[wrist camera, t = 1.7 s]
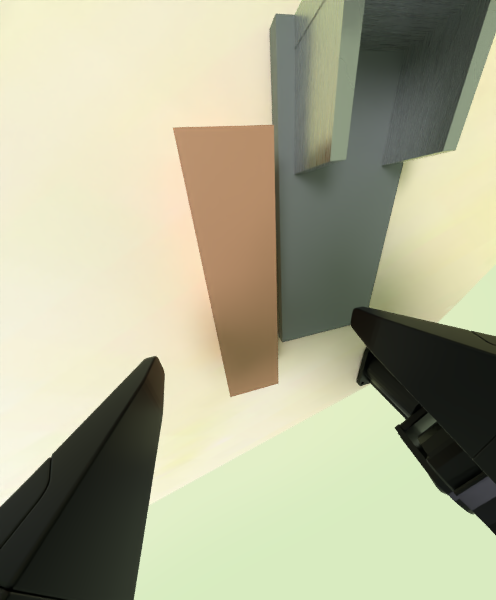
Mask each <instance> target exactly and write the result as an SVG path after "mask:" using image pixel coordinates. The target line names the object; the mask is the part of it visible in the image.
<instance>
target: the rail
mask: <svg viewBox="0 0 496 600" xmlns="http://www.w3.org/2000/svg"><path fill="white" fill-rule="evenodd" d="M173 130H174V135H175V139H176V144H177V149H178V153H179V158H180V163H181V167H182V172H183V177H184V181H185V186H186V191H187V195H188V200H189V205H190V209H191V214H192V219H193V224H194V228H195V233H196V238H197V242H198V247H199V252H200V256H201V261H202V266H203V270H204V275H205V280H206V284H207V289H208V294H209V298H210V303H211V308H212V313H213V317H214V322H215V327H216V331H217V336H218V341H219V345H220V350H221V355H222V359H223V364H224V369H225V373H226V378H227V383H228V387H229V392H230V397H232V396H236V395H239V394H243V393H246V392H250V391H253V390H257V389H260V388H264V387H267V386H271V385H274V384H278V337H277V278H276V220H275V162H274V125H255V126H217V127H179V128H173Z"/></svg>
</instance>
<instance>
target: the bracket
mask: <svg viewBox="0 0 496 600" xmlns="http://www.w3.org/2000/svg"><path fill="white" fill-rule="evenodd" d="M495 33H496V0H302V1H301V3H300V5H299V7H298V9H297V11H296V13H295V17H294V49H295V107H294V174H301V173H307V172H310V171H313V170H316V169H320V168H323V167H326V166H329V165H332V164H335V163H338V162H341V161H344V160H346V156H347V147H348V139H349V131H350V122H351V114H352V106H353V97H354V89H355V81H356V72H357V64H358V56H359V50H364V51H402V52H404V53H403V58H402V63H401V68H400V73H399V78H398V83H397V88H396V93H395V98H394V104H393V109H392V114H391V119H390V124H389V129H388V134H387V139H386V144H385V149H384V155H383V160H382V165H381V166H384V165H393V164H397V163H402V162H406V161H410V160H415V159H419V158H424V157H428V156H432V155H437V154H441V153H446V152H450V151H454V150H456V147H457V144H458V141H459V138H460V135H461V132H462V130H463V127H464V124H465V121H466V118H467V115H468V112H469V109H470V106H471V103H472V100H473V97H474V94H475V91H476V89H477V86H478V83H479V80H480V77H481V74H482V71H483V68H484V65H485V62H486V59H487V56H488V53H489V50H490V47H491V45H492V42H493V39H494V36H495Z"/></svg>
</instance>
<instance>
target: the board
mask: <svg viewBox="0 0 496 600" xmlns="http://www.w3.org/2000/svg"><path fill="white" fill-rule="evenodd" d="M294 17H295V15H288V14H276V15H275V17H274V20H273V22H272V25H271V27H270V57H271V90H272V122H273V125H274V162H275V220H276V252H277V285H278V317H279V338H280V339H281V341H282V342H285V341H289V340H293V339H297V338H301V337H305V336H309V335H313V334H316V333H320V332H324V331H328V330H332V329H336V328H340V327H344V326H347V325H351V324H350V321H351V316H352V311H353V309H354V308H357V307H362V306H363V307H369V303H370V299H371V295H372V290H373V286H374V282H375V278H376V274H377V270H378V266H379V261H380V257H381V253H382V249H383V245H384V241H385V236H386V232H387V228H388V224H389V220H390V216H391V212H392V207H393V203H394V199H395V195H396V191H397V187H398V182H399V178H400V174H401V170H402V166H403V162H402V163H397V164H393V165H384V166H381V165H382V160H383V155H384V149H385V144H386V139H387V134H388V129H389V124H390V119H391V114H392V109H393V104H394V98H395V93H396V88H397V83H398V78H399V73H400V68H401V63H402V58H403V53H404V52H402V51H364V50H359V56H358V64H357V72H356V81H355V89H354V97H353V106H352V114H351V122H350V131H349V139H348V147H347V156H346V160H344V161H341V162H338V163H335V164H332V165H329V166H326V167H323V168H320V169H316V170H313V171H310V172H307V173H301V174H294V107H295V49H294Z"/></svg>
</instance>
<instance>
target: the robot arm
mask: <svg viewBox="0 0 496 600" xmlns="http://www.w3.org/2000/svg"><path fill="white" fill-rule="evenodd" d="M350 324H351V327H352V328H353V329H354V331H355V332H356V333H357V334H358V336H359V337H360V338H361V340H362V341H363V342H364V343H365V345H366V346H367V347H368V348H367V349H366V350H365V353H364V357H363V361H362V364H361V368H360V372H359V376H358V380H357V383H358V384H359V385H360V386H362V385H365V384H368V383H371V384H372V385H373V386H374V387H375V388H376V389H377V390H378V391H379V392H380V393H381V394H382V395H383V396H384V397H385V399H386V400H387V401H389V403H390V404H392V406H393V407H394V408H395V409H396V410H397V411H398V412H399V413H400V414H401V415H402V416H403V417H405V419H406V420H405V421H404V422H403V423H401V424H400V425H397V426H396V427H395V429H396V430H397V432H398V434H399V435H400V437H401V438H402V440H403V441H404V443H405V444H406V445H407V446H408V448H409V449H410V450H411V452H412V453H413V454H414V456H415V457H416V458H417V460H418V461H419V462H420V463H421V465H422V466H423V468H424V469H425V470H426V472H427V473H428V474H429V476H430V478H431V479H432V481H433V483H434V484H435V485H436V487H437V488H438V489H439V490H440V491H441V492H442V493H445V494H447V495H449V496H450V497H451V498H452V499H453V500H454V501H455V502H456V503H457V504H458V505H459V506H461V507H462V508H463V509H464V510H466V511H467V512H469V513H471V514H476V515H477V516H478V517H479V518H480V519H481V520H482V521H483V522H484V523H485V524H486V525H487V526H488V527H489V528H490V530H491V531H492V532H493V533H494V534H495V535H496V336H492V335H487V334H483V333H479V332H474V331H469V330H465V329H461V328H456V327H452V326H447V325H443V324H439V323H434V322H430V321H425V320H421V319H416V318H412V317H408V316H403V315H399V314H394V313H390V312H386V311H381V310H377V309H372V308H368V307H363V306H362V307H357V308H354V309H353V311H352V316H351V321H350ZM164 380H165V373H164V370H163V367H162V365H161V363H160V361H159V359H158V357H156V356H154V357H149V358H146V359H144V360H143V361H142V362H141V363H140V364H139V366H138V367H137V368H136V369H135V370H134V371H133V372H132V373H131V374H130V375H129V376H128V377H127V378H126V379H125V380H124V381H123V382H122V383H121V384H120V385H119V386H118V387H117V388H116V389H115V390H114V391H113V392H112V393H111V394H110V395H109V396H108V397H107V398H106V399H105V401H104V402H103V403H102V404H101V405H100V406H99V407H98V408H97V409H96V410H95V411H94V412H93V413H92V414H91V415H90V416H89V417H88V418H87V419H86V420H85V421H84V422H83V423H82V424H81V425H80V426H79V427H78V428H77V429H76V430H75V431H74V432H73V433H72V434H71V436H70V437H69V438H68V439H67V440H66V441H65V442H64V443H63V444H62V445H61V446H60V447H59V448H58V449H57V450H56V451H55V452H54V453H53V454H52V457H50V458H48V459H47V460H46V461H45V462H44V463H43V464H42V465H41V466H40V467H39V468H38V469H37V470H36V471H35V472H34V474H33V475H32V476H31V477H30V478H29V479H28V480H27V481H26V482H25V483H24V484H23V485H22V486H21V487H20V488H19V489H18V490H17V491H16V492H15V493H14V494H13V495H12V496H11V497H10V498H9V499H8V500H7V501H6V502H5V503H4V504H3V505H2V506H1V507H0V600H134V594H135V587H136V581H137V575H138V569H139V562H140V556H141V550H142V543H143V537H144V530H145V524H146V518H147V512H148V506H149V499H150V493H151V487H152V480H153V474H154V468H155V461H156V455H157V449H158V442H159V436H160V430H161V423H162V416H163V402H164Z"/></svg>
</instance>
